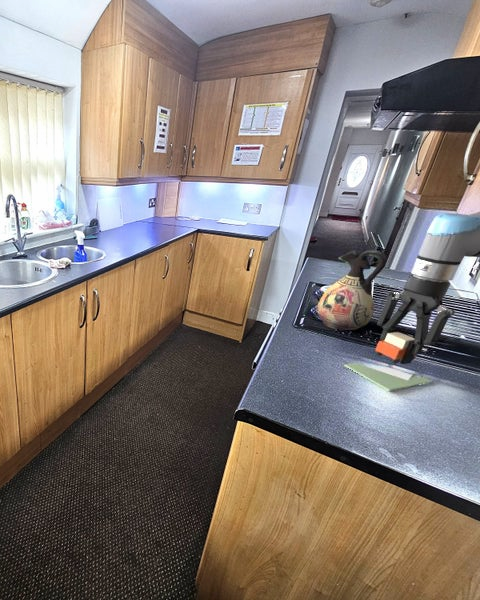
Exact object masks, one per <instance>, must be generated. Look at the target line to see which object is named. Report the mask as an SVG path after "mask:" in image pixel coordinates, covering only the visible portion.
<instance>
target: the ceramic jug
mask: <svg viewBox="0 0 480 600" xmlns="http://www.w3.org/2000/svg"><path fill="white" fill-rule="evenodd" d="M367 257H373V258H376V259H377V260H378V264H377V266H376V267H375V268H374V270H373V271H372V272H371V273H370V274H369V275H367V278H365V273H364V270H370V269H371V264H370V262H369V261H368V260H367ZM338 260H340V261H342V262H343V263H346V264H347V265H349V266H350V270H349V272H348V273H347V274H346V275H345V276H343V277H342V278H340V279H338V280H337V281H336V282H334V283H333V284H332V285H330V286H329V287H328V288H327V289H326V290H325V292H323V295H322V296H321V297H320V299H319V301H318V304H317V313H318V316H319V318H320V320H321V321H322V323H323V324H324V325H325V326H327V327H329V328H330V329H334V330H337V329H339V330H338V331H342V330H354V331H356V330H358V329H360V328H362V327H364V326H366V325H368V324H369V322H370V321H371V320H372V318H373V316H374V312H375V302H374V297H373V294H372V290H373V285H372V283H373V281H374V280H375V278H376V277H377V276H378V275H379V274H380V273H381V272H382V271H383V269H384V268H385V266H386V264H387V256H386V254H385V253H384V252H382V251H381V250H377V249H369V250H365V251H363V252H362V253H361V254H360V255H359V253H358V251H357V250H356V249H354V250H352V251H348V252H347V253H345V254H343V255H341V256H339V257H338ZM369 320H370V321H369Z"/></svg>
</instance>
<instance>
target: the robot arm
mask: <svg viewBox="0 0 480 600" xmlns="http://www.w3.org/2000/svg"><path fill="white" fill-rule="evenodd" d="M465 257H468V258H480V211H478V212H475V213H470V214H466V213H465V214H464V213H446V212H445V213H439V214H437V215H436V216H435V217H434V218H433V220H432V222H431V223H430V225H429V227H428V229H427V231H426V235H425V237H424V239H423V241H422V244H421V247H420V249H419V251H418V254H417V256H416V259H415V260H414V263H413V266H412V267H411V270H410V273H411V274H410V275H408V276H407V279H406V280H405V284H404V286H403V287H404V288H403V289H402V290H401V291H400V292H397V291H389V292H387V293H386V301H385V304H384V306H383V308H382V310H381V313H380V315H379V318H378V320H377V322H376V325H377V326H379V327H381V328H382V332H381V333H380V337H379V341H383V340H385V338H386V336H387V334H388V333H394V332H396V331H395V330H396V328H397V326H398V325H399V324H400V323H401V322H402V320H404V319H405V317H406V316H407V315H408V314H409V313H410V312H413V313H414V314H415V318H416V323H415V333H414V339H415V341H412V342H410V343H409V345H408V347H407V350H406V352H405V354H404V356H403V358H402V359H401V360H400V361H399V363H400V364H401V365H408V364H412V359H413V357H414V355H420V354H421V353H422V350H423V348H424V346H432V345H434V346H435V345H436V344H437V343H438V341H439V339H440V337H441V335H442V333H443V331H444V329H445V327H446V324H447V322H448V320H449V319H450V318H451V317H452V316H454V314H456V310H454V309H449V308H448V307H446V306H444V305H443V304H444V302H443V300H444V298H445V296H446V294H447V292H448V290H449V288H450V286H451V282H450V281H453V280H454V278H455V276H456V274H457V271H458V269H459V267H460V265H461V263H462V261H463V260H464V258H465ZM399 300H400V301H401V304H400V305H399V307H398V308H397V310H396V312H395V313H394V311H395V309H396V307H397V305H398V302H399ZM436 310H437V311H436ZM434 311H436V316H435V318H434V319H433V322H432V324H431V326H430V319H431V318H432V313H433V312H434ZM429 327H430V328H429Z"/></svg>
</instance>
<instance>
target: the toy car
mask: <svg viewBox="0 0 480 600" xmlns="http://www.w3.org/2000/svg"><path fill="white" fill-rule="evenodd" d="M412 341H415V337H412V336H410V335H407V334H404V333H402V332H400V331H395V332H394V333H388V334H387V336H386V338H385V340H383V341H382V340H379V341H378V343H377V344H376V347H375V352H374V355H375V356H378V357H382V355H384V356H386V357H388V358H390V363H392V364H394V365H396V364H398V363H400V362H401V360H402V358H403V356H404V354H405V352H406V350H407V347H408V345H409V343H410V342H412ZM416 357H418V356H417V355H414V357H413V359H412V361H414V360H416ZM412 361H411V362H412Z"/></svg>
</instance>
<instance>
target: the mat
mask: <svg viewBox="0 0 480 600" xmlns="http://www.w3.org/2000/svg"><path fill="white" fill-rule="evenodd" d="M343 366H344V367H345V368H347V369H348V368H349V370H350V369H351V370H350V371H352V370H353V371H352V372H354V373H355V372H356V373H355V374H357V373H358V374H357V375H358V376H360V377H362V376H363V378H364V379H366V380H368V381H369V380H370V381H369V382H370V383H373V384H374V385H376V386H378V387H380V388H382V389H384V390H385V391H387V392H394V391H398V389H399V390H403V389H402V388H404V389H407V388H406V387H409V388H411V387H410V386H414V387H416V386H415V385H419V384H423V383H428V382H432V381H433V380H431V379H430V378H427V377H426V376H423V377H420V378H419V377H417V375H415V374H414V373H413V374H414V375H413V374H412V376H410V377H409V379H405V378H402V377H399V376H396V375H393V374H390V373H387V372H384V371H381V370H378V369H375V368H372V367H369V366H366V365H365V364H361V363H359V362H351V363H346V364H344V365H343ZM432 383H433V382H432ZM419 386H420V385H419ZM393 390H394V391H393Z"/></svg>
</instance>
